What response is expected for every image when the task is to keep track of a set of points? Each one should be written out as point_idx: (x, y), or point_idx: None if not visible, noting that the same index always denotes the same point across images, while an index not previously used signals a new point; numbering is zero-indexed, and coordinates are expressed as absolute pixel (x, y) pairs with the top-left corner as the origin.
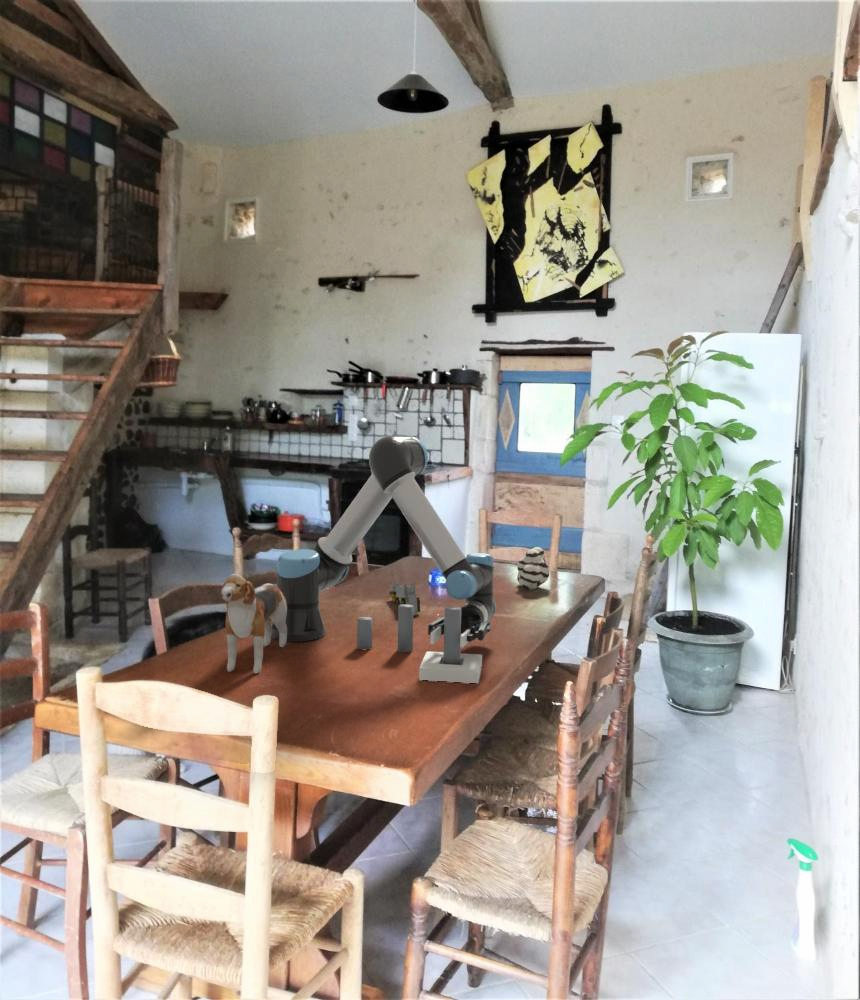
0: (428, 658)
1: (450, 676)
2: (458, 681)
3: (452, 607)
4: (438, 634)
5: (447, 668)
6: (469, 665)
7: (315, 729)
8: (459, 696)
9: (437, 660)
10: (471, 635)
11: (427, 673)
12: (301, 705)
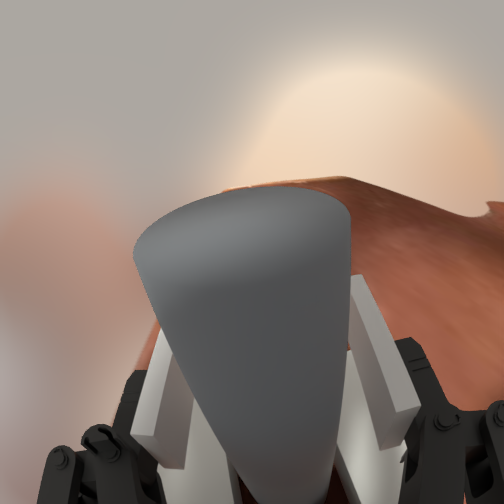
0: (404, 451)
1: None
2: None
3: (263, 243)
4: (370, 378)
5: None
6: (193, 449)
7: (354, 192)
8: None
9: (354, 452)
10: (130, 377)
11: None
12: (427, 211)
